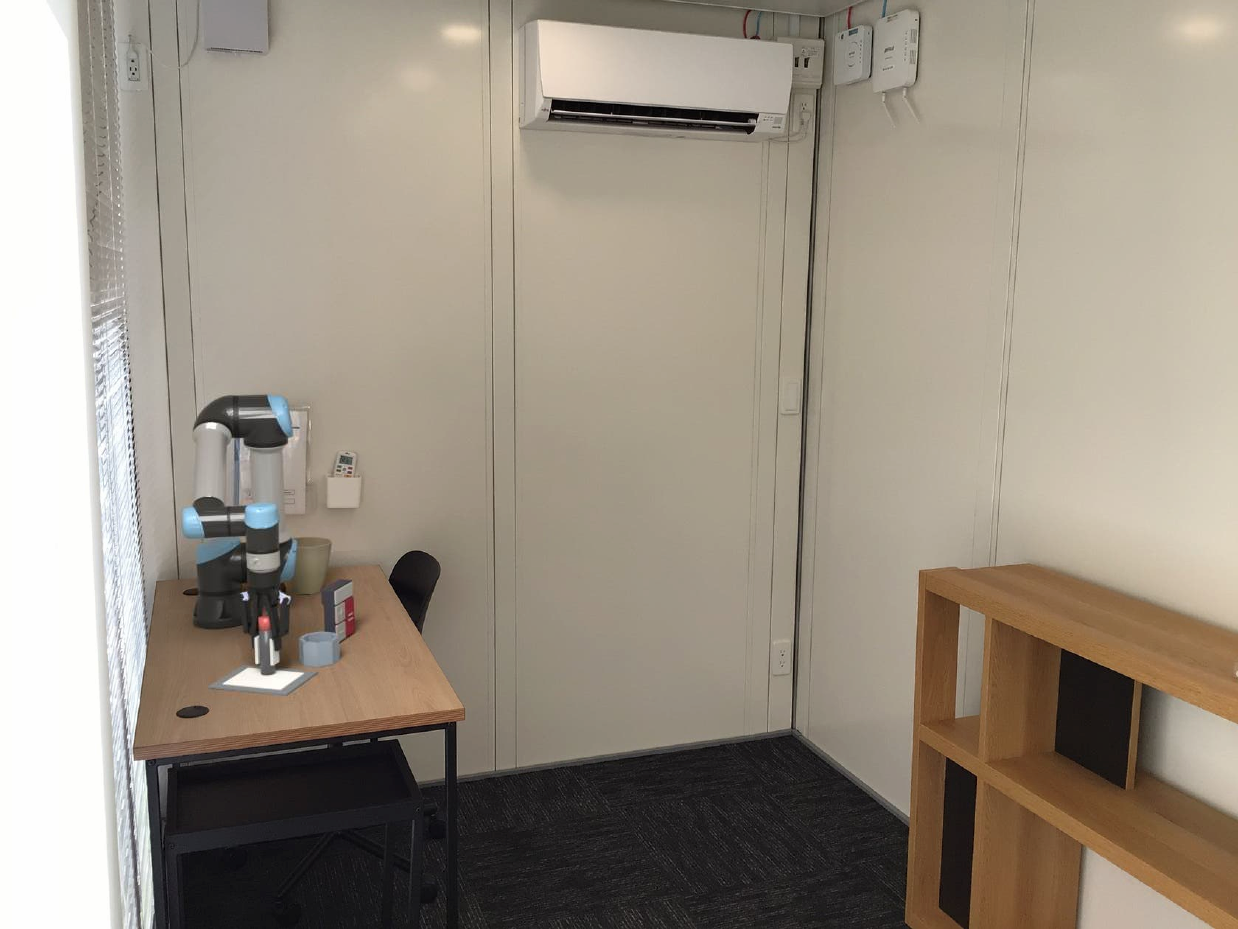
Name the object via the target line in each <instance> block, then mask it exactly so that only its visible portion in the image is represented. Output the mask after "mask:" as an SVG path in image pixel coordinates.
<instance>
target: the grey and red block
mask: <svg viewBox="0 0 1238 929" xmlns="http://www.w3.org/2000/svg"><path fill="white" fill-rule="evenodd" d="M320 592H321V605H323V617H324V618H323V620H324V621H323V622H324V624H323V625H324V632H333V633H335V634H336V635H338V636H339V643H340V642H342V641H343V640H344V639H346V638H348V637H349V636H350V635H352V634H354V632H355V629H356V628H355V599H354V598H355V597H354V596H353V595H354V582H353V580H352V579H342V578H339V579H338V580H336V581H334V582H332V583H331V584H329V585H327V586H325V587H324V588H321V590H320Z"/></svg>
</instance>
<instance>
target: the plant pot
mask: <svg viewBox="0 0 1238 929" xmlns="http://www.w3.org/2000/svg"><path fill="white" fill-rule="evenodd" d="M291 538H292V539H294V540H296V541H297V550H296V563H295V571H294V576H293V577H292V579H290V580H289V581H290V583H291V585H292V587H293V589H294V592H295V593H296V594H297V595H301V594H310V595H315V593H316V594H318V593H320V592H321V590H322V587H323V583H324V581H325V578H326V575H327V571H328V568H329V562H330V558H331V550H332V543H333V542H332V539H330V538H327V537H321V536H302V537H301V536H300V537H291ZM319 591H320V592H319ZM317 592H318V593H317Z"/></svg>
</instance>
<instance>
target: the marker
mask: <svg viewBox="0 0 1238 929" xmlns="http://www.w3.org/2000/svg"><path fill="white" fill-rule="evenodd" d="M258 622H259V646H260V663H259V666H260V670H261V674H262V675H272V674H274V673H275V668H276V664H275V665H271V662H270V639H271V638H272V631H271V626H270V621H269V616H268V614H262V616H260V617H258Z"/></svg>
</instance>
